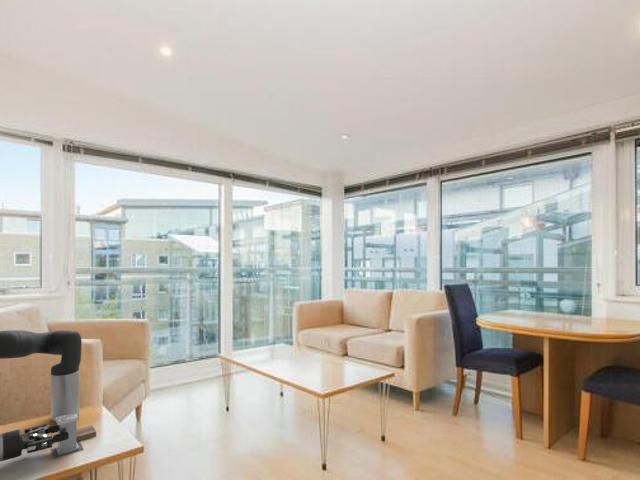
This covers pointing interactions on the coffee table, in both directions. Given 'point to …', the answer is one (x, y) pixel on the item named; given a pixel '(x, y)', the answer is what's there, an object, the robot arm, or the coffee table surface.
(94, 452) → the coffee table surface
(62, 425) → the housing
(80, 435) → the plinth
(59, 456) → the mat
